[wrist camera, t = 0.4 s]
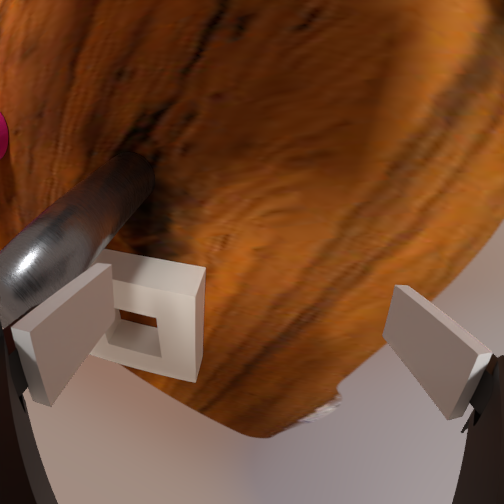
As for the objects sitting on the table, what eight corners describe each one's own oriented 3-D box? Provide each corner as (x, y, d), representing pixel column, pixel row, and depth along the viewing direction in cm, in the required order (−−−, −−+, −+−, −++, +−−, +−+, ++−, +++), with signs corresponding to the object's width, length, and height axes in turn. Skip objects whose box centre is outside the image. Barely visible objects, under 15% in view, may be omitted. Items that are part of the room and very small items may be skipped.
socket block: (77, 243, 29) (57, 266, 26) (206, 267, 29) (195, 296, 26) (101, 331, 37) (88, 354, 34) (202, 356, 37) (195, 382, 34)
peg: (106, 150, 23) (-36, 264, 10) (155, 154, 23) (20, 285, 10) (110, 198, 26) (-5, 327, 13) (155, 204, 26) (51, 352, 13)
